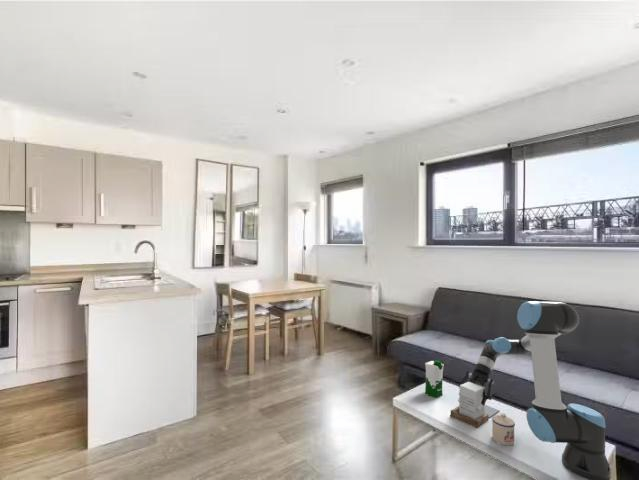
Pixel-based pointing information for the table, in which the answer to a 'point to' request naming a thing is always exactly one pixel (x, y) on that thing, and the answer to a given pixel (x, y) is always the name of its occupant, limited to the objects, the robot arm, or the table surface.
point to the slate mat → (490, 411)
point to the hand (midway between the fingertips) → (468, 405)
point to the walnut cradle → (469, 420)
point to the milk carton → (434, 378)
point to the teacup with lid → (503, 429)
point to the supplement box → (471, 400)
